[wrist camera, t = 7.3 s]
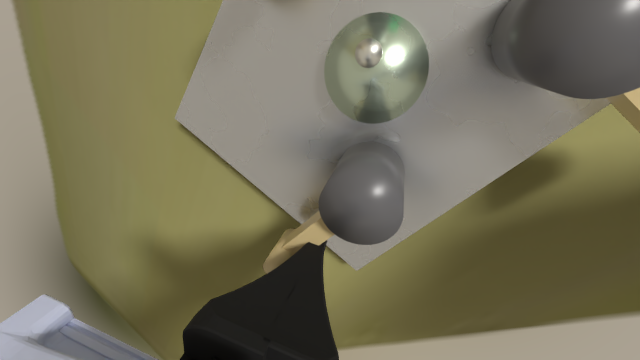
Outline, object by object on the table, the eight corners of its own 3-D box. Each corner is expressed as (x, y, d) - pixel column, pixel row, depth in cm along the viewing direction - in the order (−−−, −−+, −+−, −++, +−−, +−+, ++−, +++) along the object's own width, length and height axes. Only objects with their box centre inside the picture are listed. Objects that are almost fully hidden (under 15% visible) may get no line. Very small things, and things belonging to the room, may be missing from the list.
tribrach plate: (763, -22, 8) (878, -44, 6) (359, 257, 17) (353, 284, 15) (426, -418, 7) (433, -605, 5) (189, 113, 16) (159, 122, 14)
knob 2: (470, 40, 9) (500, 38, 6) (565, -56, 8) (668, -120, 5) (612, 181, 10) (701, 240, 7) (729, 120, 8) (910, 163, 5)
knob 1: (372, 127, 12) (360, 156, 9) (419, 176, 12) (423, 220, 9) (275, 213, 16) (244, 254, 13) (313, 248, 16) (291, 296, 13)
